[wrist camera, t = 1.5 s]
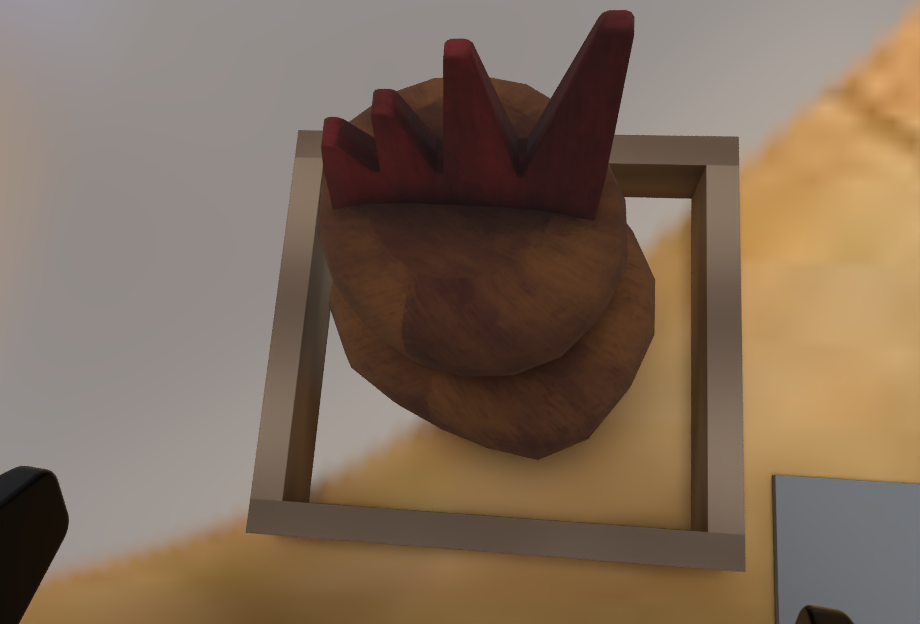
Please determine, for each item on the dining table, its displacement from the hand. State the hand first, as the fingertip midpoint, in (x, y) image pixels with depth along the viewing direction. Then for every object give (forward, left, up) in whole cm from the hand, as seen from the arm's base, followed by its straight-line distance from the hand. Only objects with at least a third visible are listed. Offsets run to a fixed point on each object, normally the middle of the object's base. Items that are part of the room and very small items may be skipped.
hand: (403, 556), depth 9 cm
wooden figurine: (+5, 0, -12) cm, 13 cm away
